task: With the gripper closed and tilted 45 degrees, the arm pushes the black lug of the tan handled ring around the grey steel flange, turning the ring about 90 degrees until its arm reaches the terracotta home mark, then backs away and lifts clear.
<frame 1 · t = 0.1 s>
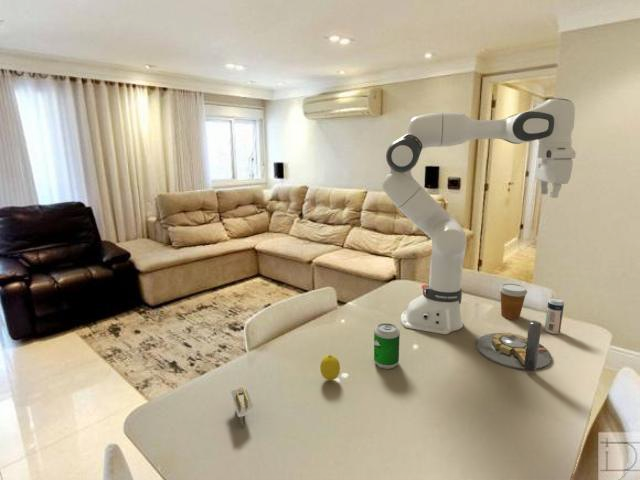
hand: (548, 195, 122), 48 cm above the table, tool pointing down, fingers open, 8 cm apart
disposable coffee cup: (510, 316, 145), on the table
soda can: (386, 364, 114), on the table
flange: (512, 351, 119), on the table
lemon: (330, 381, 106), on the table
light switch: (243, 418, 92), on the table
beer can: (552, 332, 132), on the table
tan handled ring: (520, 332, 114), point 9 cm above the table, hinge at 0.0°
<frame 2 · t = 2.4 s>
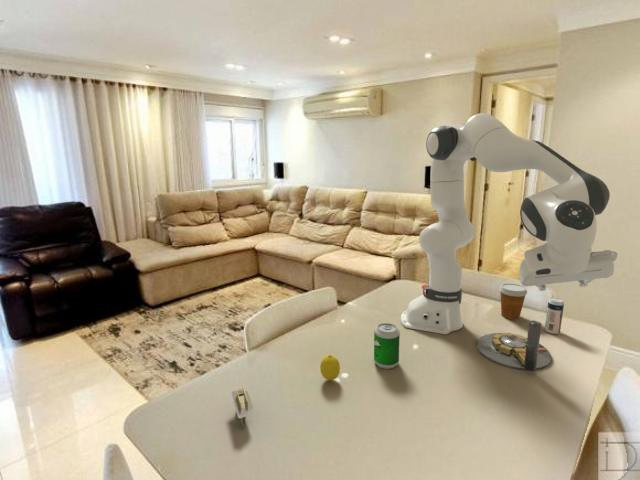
hand: (561, 286, 99), 27 cm above the table, tool tilted 40°, fingers open, 8 cm apart
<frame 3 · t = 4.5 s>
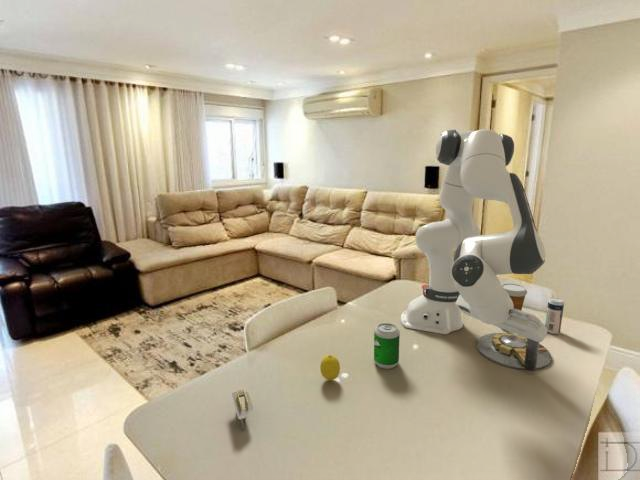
hand: (509, 330, 96), 17 cm above the table, tool tilted 45°, fingers closed
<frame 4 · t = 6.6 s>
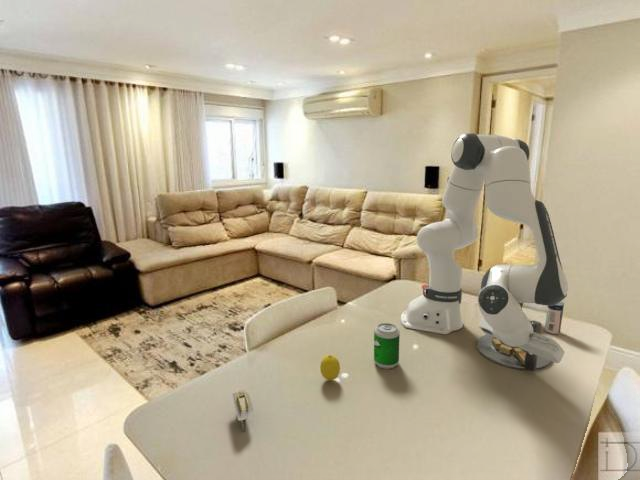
hand: (527, 350, 105), 8 cm above the table, tool tilted 45°, fingers closed, pressing on tan handled ring
tan handled ring: (520, 332, 114), point 9 cm above the table, hinge at 0.1°, touching gripper
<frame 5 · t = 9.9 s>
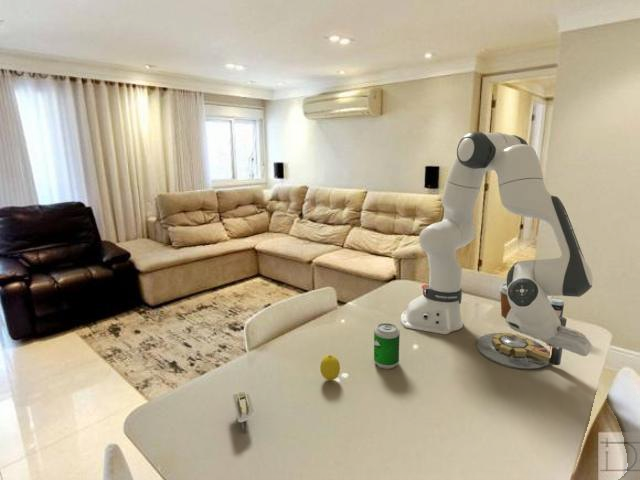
hand: (554, 345, 107), 8 cm above the table, tool tilted 45°, fingers closed, pressing on tan handled ring
tan handled ring: (527, 330, 115), point 9 cm above the table, hinge at 44.3°, touching gripper
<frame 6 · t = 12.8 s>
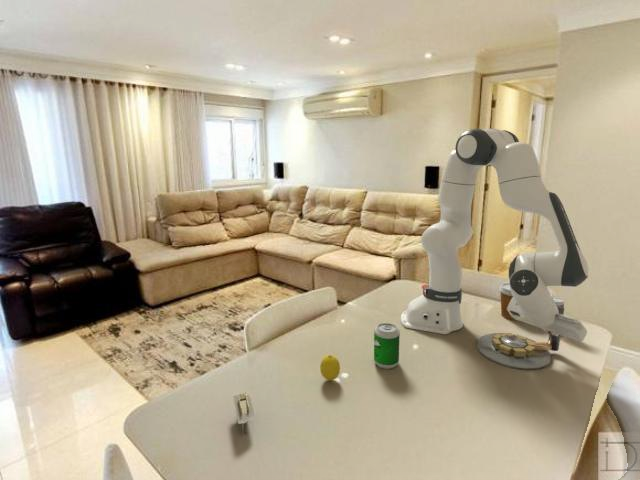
hand: (551, 332, 115), 8 cm above the table, tool tilted 45°, fingers closed, pressing on tan handled ring
tan handled ring: (527, 327, 117), point 9 cm above the table, hinge at 88.1°, touching gripper
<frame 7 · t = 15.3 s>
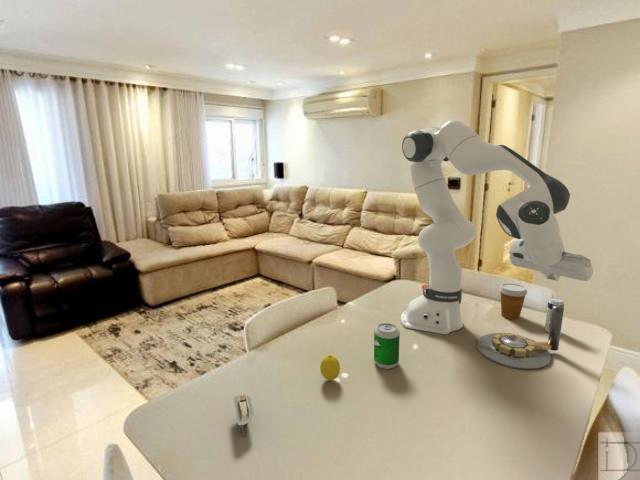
hand: (553, 278, 110), 26 cm above the table, tool tilted 40°, fingers closed
tan handled ring: (527, 327, 117), point 9 cm above the table, hinge at 89.1°
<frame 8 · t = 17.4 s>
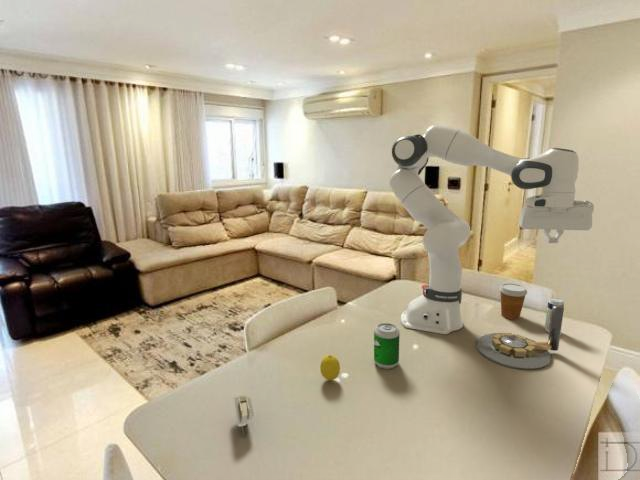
hand: (552, 242, 121), 33 cm above the table, tool pointing down, fingers closed
at the end: tan handled ring at +89° (first picture: +0°) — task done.
